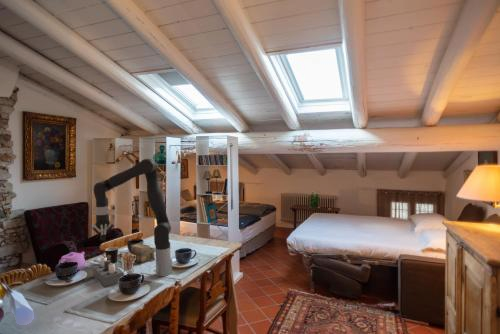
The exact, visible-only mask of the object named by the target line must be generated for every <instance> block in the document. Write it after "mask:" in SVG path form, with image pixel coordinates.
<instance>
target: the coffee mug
mask: <svg viewBox="0 0 500 334" xmlns="http://www.w3.org/2000/svg"><path fill="white" fill-rule="evenodd" d="M103 252H105V255H104V254H103ZM118 253H119V247H118V246H109V247H106V248H105V249H103V250H101V251H100V254H101V255H102V257H107V260H111V263H112V264H115V265H116V264H117V262H118V255H119V254H118Z"/></svg>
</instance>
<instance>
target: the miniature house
mask: <svg viewBox="0 0 500 334" xmlns="http://www.w3.org/2000/svg"><path fill="white" fill-rule="evenodd" d="M155 252H156V249H155V247H154V248H153V247H151V245H147V244H143V243H140V242H138V243H135V244H132V245H130V254H131V253H132V254H134V255H136V260H135V262H134V263H136V265H138V264H140V265H143V264H145V263H149V262H153V261H156V257H155Z"/></svg>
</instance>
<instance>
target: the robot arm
mask: <svg viewBox="0 0 500 334" xmlns="http://www.w3.org/2000/svg"><path fill="white" fill-rule="evenodd" d="M157 169H158V168H157V164H156V162H155V161H154V159H152V158H144V159H142V160H141V161H138V163H136V164H134V165H133V166H132V167H130V168H128V169H126V170H123V171H121V172H118V173H116V174H115V175H112V176H110V177H109V178H107V179H105V180H103V181H99V182H97V183H95V184H94V186H93V194H94V197H95V224H94V226H92V227H91V229H92V230H93V231H94V232H95V233H96V234H97V235H99V237H100V240H101V241H103V242H105V241H106V239H107V234H109V233H110V232H111V230H112V229H113V227H114V224H113V223H111V222H110V208H109V198H108V197H107V192H109V191H111V190H112V189H114V188H117V187H119V186H121V185H124V184H126V183H127V182H129V181H130V180H132V179H134V178H136V177H138V176H141V175H144V177H145V179H146V195H147V200H148V204H149V207H150V209H151V210H152V212H153V214H154V215H155V220H156V226H155V227H154V230H153V240H154V245H155V247H154V248H155V276H157V277H166V276H169V275H171V274H172V273H173V258H171V242H170V234H171V230H172V227H171V223H170V221H169V218H168V214H167V209H166V204H165V201H164V195H163V191H162V188H161V184H160V181H159V177H158V170H157Z"/></svg>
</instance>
